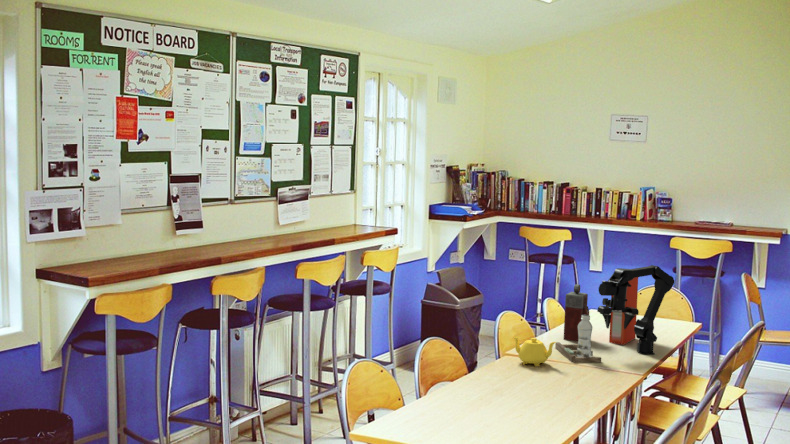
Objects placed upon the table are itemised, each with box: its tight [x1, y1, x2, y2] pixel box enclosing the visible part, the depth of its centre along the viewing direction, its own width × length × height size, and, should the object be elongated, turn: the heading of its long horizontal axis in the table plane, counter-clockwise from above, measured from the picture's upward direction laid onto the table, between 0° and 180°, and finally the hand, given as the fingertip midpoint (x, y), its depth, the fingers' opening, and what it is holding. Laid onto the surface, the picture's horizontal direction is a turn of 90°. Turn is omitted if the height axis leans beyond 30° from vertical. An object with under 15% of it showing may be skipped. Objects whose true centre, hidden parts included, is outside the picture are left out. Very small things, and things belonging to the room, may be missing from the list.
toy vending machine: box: [563, 284, 590, 343], centre depth 393 cm, size 9×11×28 cm
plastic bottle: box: [576, 314, 593, 357], centre depth 356 cm, size 6×7×20 cm
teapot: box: [512, 335, 557, 367], centre depth 346 cm, size 20×15×12 cm
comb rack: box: [554, 341, 602, 363], centre depth 362 cm, size 14×24×4 cm, turn 5°
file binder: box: [608, 277, 639, 346], centre depth 393 cm, size 8×17×32 cm, turn 146°
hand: (616, 328), depth 364 cm, fingers open, 9 cm apart
